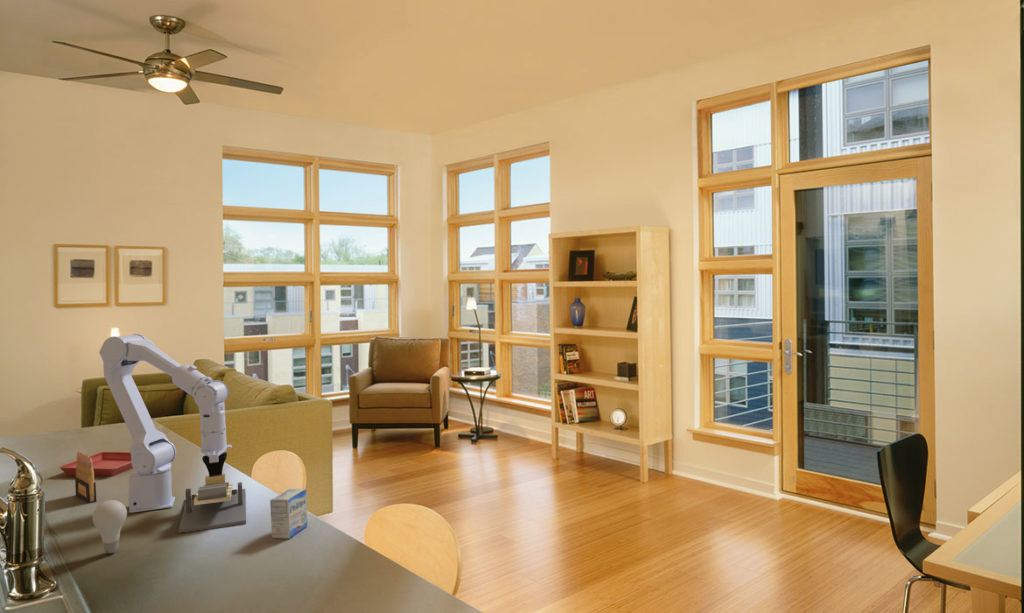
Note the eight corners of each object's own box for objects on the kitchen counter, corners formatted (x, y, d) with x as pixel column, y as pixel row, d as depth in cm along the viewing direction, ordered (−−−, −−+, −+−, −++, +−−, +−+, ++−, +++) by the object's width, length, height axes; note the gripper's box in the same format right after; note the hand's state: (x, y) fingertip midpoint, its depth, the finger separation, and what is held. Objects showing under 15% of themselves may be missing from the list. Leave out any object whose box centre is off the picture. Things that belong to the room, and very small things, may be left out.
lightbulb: (92, 561, 131) (90, 507, 131) (95, 550, 136) (93, 499, 136) (127, 555, 134) (125, 502, 133) (129, 545, 139) (127, 494, 139)
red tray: (154, 462, 208) (154, 451, 208) (114, 479, 190) (114, 467, 190) (102, 461, 210) (101, 451, 210) (57, 478, 192) (57, 467, 192)
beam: (236, 500, 151) (235, 485, 151) (188, 506, 147) (187, 491, 148) (237, 488, 172) (236, 475, 173) (195, 494, 168) (195, 480, 169)
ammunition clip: (96, 501, 169) (94, 456, 168) (88, 503, 167) (86, 457, 167) (83, 493, 176) (81, 449, 175) (75, 495, 174) (73, 451, 174)
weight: (225, 491, 160) (224, 475, 161) (205, 494, 159) (205, 477, 159) (225, 489, 164) (224, 473, 165) (206, 492, 163) (205, 475, 163)
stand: (246, 523, 151) (245, 498, 150) (178, 533, 145) (177, 507, 145) (245, 491, 175) (244, 469, 174) (187, 499, 169) (186, 476, 169)
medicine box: (289, 539, 141) (288, 500, 140) (271, 538, 141) (269, 499, 141) (308, 526, 148) (306, 488, 148) (290, 525, 149) (289, 488, 149)
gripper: (230, 434, 158) (233, 489, 159) (230, 422, 171) (233, 472, 172) (198, 438, 155) (201, 494, 156) (201, 425, 168) (203, 476, 169)
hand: (216, 483), depth 164 cm, fingers closed, pressing on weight
